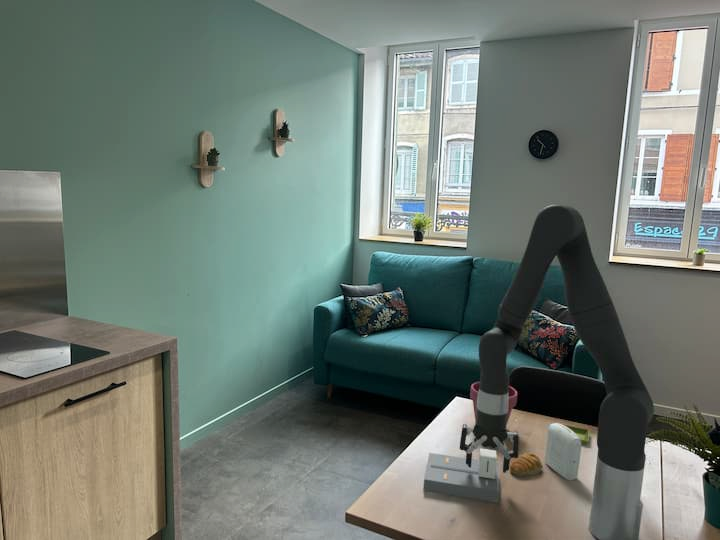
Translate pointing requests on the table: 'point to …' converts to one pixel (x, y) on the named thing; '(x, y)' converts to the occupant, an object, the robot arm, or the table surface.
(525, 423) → the table surface
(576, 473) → the photo printer
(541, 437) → the table surface
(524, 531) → the table surface
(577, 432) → the saucer
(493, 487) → the console
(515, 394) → the plant pot
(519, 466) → the pastry
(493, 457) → the fader tab
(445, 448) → the table surface
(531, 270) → the robot arm
